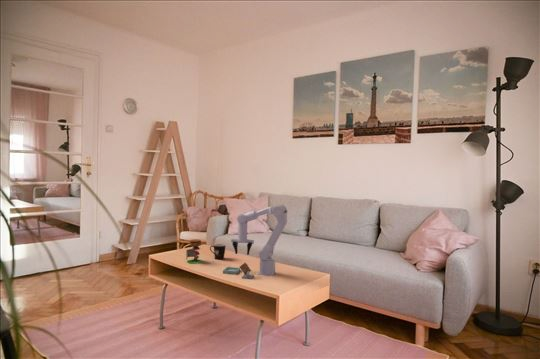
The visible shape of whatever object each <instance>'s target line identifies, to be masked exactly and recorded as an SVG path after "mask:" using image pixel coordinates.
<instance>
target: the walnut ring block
mask: <svg viewBox="0 0 540 359" xmlns="http://www.w3.org/2000/svg"><path fill="white" fill-rule="evenodd" d="M239 268H240V271H242V273H243V275H244V274H245V275H246V274H247V271H249V273H250V272H251V271H252V269H250V267H249V265H248V264H247V263H246V262H244V263H242V264H241V265H240V266H239Z"/></svg>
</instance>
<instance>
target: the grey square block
mask: <svg viewBox="0 0 540 359" xmlns="http://www.w3.org/2000/svg"><path fill="white" fill-rule="evenodd" d="M254 277H255V275H254V274H250V272H249V271H247V274H246V275H245V274H244V273H243V275H242V276H241V279H244V280H245V279H246V280H253V278H254Z"/></svg>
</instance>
